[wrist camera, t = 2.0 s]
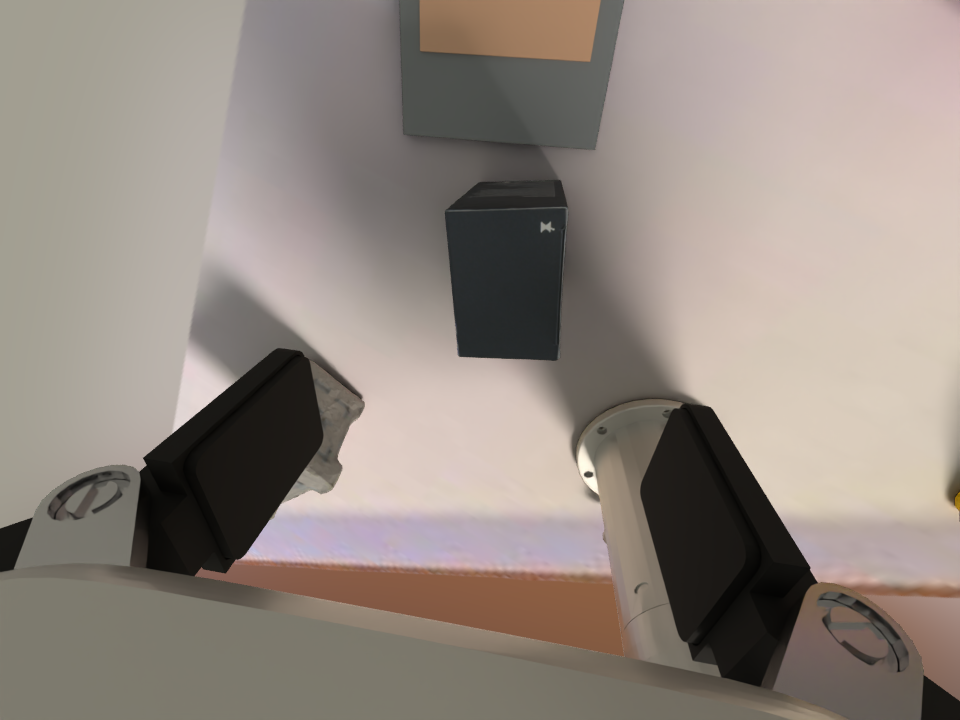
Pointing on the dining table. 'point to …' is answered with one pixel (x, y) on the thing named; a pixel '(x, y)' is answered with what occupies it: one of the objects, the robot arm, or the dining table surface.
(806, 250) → the dining table surface
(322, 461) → the incense holder
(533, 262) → the box
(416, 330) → the dining table surface
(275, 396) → the robot arm
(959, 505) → the soap bottle
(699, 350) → the dining table surface
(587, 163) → the dining table surface
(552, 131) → the card
